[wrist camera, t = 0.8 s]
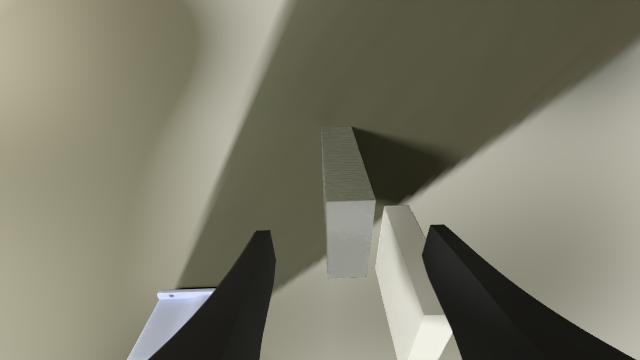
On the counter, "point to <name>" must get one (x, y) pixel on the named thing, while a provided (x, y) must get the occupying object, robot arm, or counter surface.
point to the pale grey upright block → (346, 204)
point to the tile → (409, 288)
